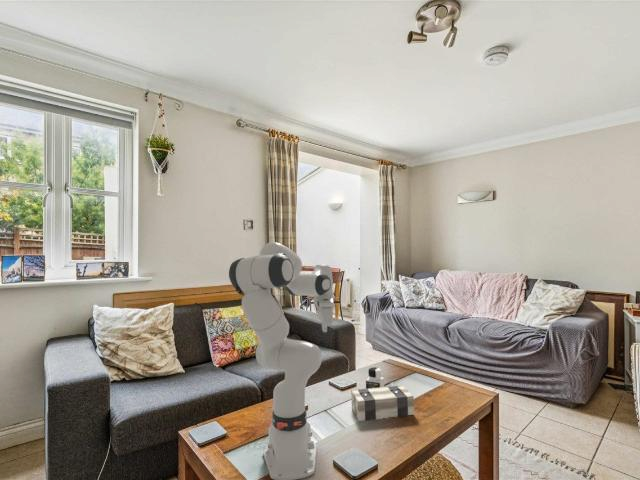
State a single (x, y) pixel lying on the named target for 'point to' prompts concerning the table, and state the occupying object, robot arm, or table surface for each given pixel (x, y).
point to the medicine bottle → (374, 378)
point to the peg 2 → (396, 392)
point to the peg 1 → (365, 394)
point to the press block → (382, 403)
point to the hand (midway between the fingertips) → (324, 331)
